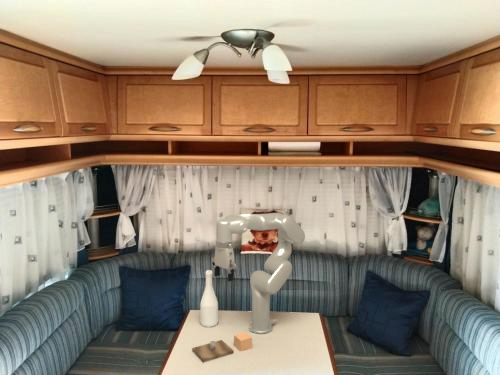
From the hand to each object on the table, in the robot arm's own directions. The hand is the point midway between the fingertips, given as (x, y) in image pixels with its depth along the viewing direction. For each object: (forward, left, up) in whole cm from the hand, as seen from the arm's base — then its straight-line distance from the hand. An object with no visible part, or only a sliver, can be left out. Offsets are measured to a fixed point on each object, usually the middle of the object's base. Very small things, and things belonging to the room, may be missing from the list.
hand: (223, 278), depth 220 cm
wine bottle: (-2, -21, -33) cm, 39 cm away
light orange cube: (-5, +10, -33) cm, 35 cm away
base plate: (+10, +7, -33) cm, 35 cm away
